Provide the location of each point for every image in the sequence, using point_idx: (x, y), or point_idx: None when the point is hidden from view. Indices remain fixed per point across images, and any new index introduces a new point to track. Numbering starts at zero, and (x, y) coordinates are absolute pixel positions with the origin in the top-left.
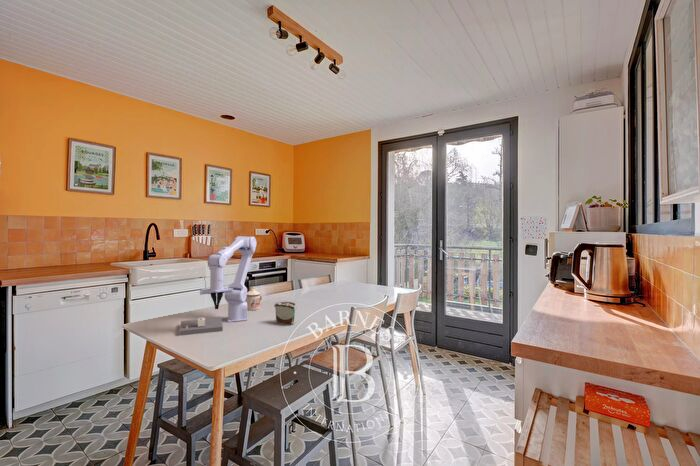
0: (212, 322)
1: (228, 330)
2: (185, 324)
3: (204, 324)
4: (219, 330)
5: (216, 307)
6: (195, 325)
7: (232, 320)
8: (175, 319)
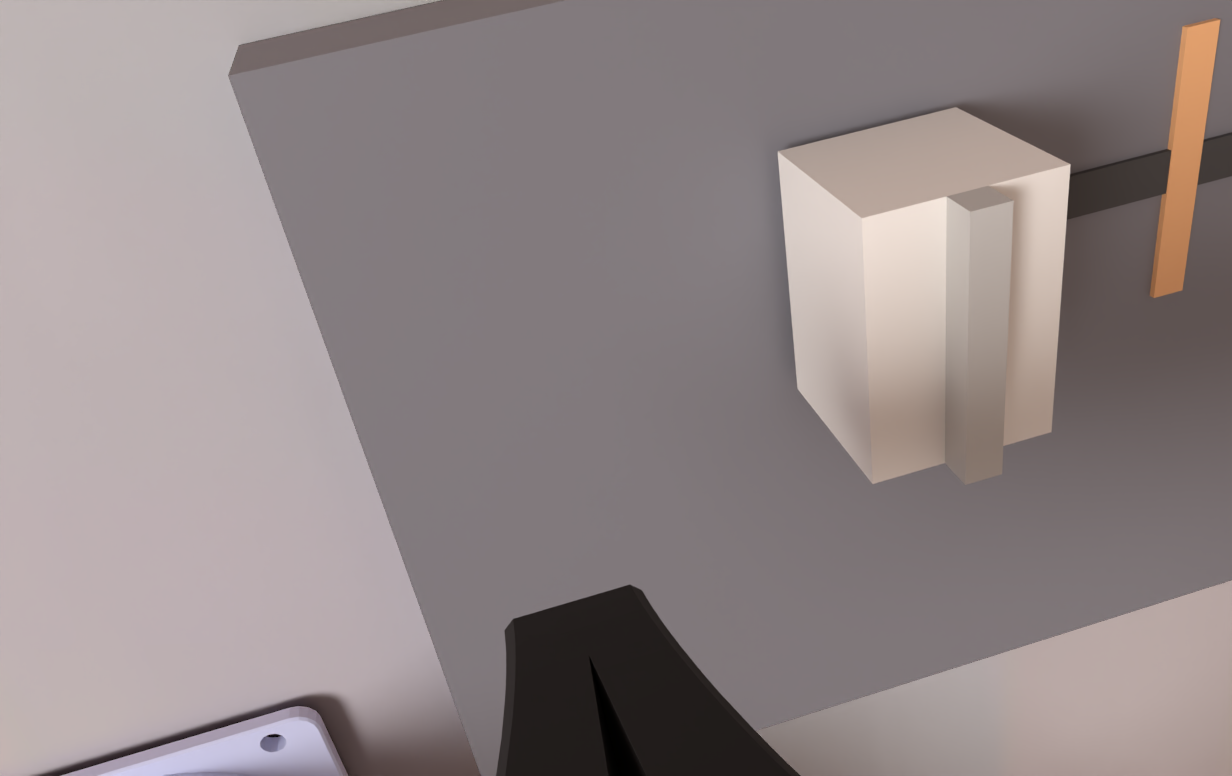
0: (625, 485)
1: (68, 86)
2: (1193, 356)
3: (808, 164)
4: (327, 28)
5: (597, 644)
6: None
7: (213, 763)
8: (1228, 767)
